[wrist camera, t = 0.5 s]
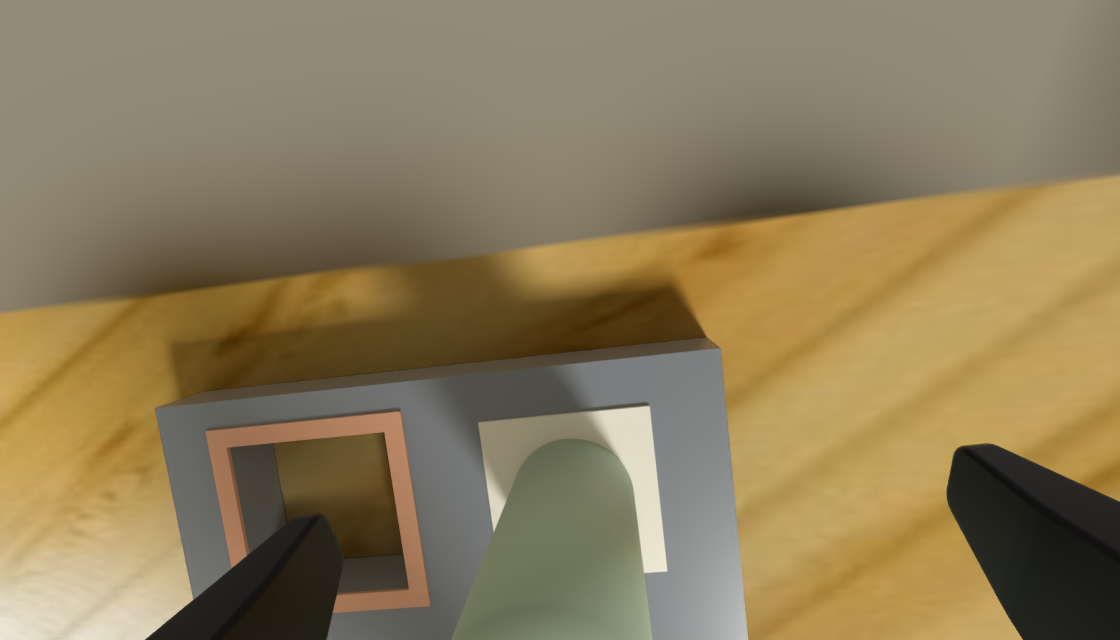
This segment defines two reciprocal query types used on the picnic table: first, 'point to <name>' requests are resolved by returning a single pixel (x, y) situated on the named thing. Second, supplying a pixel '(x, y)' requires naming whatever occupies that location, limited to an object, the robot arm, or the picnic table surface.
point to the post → (562, 554)
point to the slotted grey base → (476, 476)
